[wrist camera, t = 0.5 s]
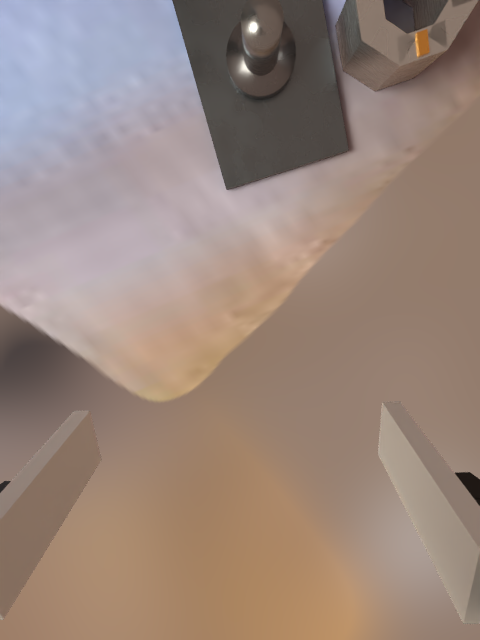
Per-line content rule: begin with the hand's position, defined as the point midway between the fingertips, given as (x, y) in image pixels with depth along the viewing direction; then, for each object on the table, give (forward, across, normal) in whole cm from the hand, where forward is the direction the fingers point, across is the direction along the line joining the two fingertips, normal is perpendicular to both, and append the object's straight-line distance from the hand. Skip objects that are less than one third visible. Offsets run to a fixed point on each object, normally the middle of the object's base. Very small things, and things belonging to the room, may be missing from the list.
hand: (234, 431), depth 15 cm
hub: (+26, +14, +25) cm, 39 cm away
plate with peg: (+26, +3, +23) cm, 35 cm away
